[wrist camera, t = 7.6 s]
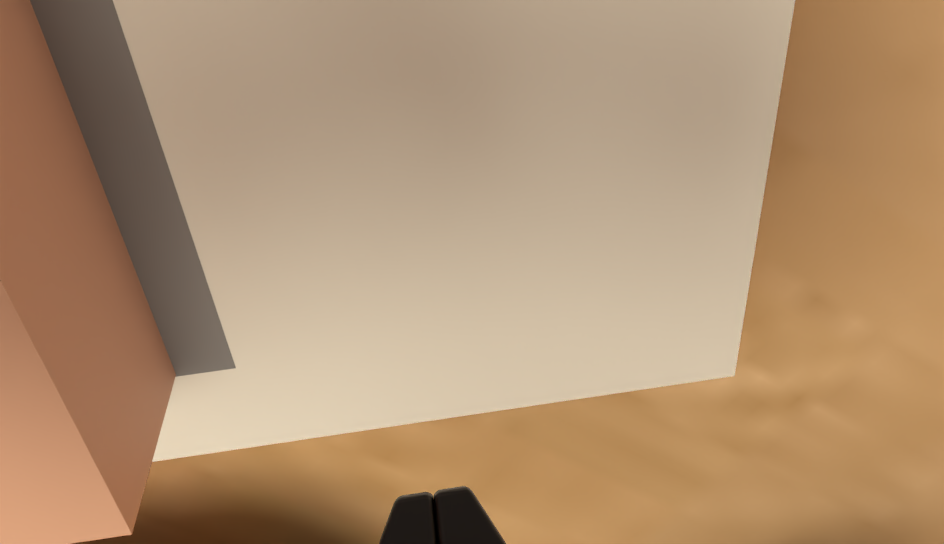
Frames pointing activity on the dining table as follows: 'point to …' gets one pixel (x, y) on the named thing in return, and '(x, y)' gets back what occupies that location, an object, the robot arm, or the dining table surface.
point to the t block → (66, 320)
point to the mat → (425, 198)
